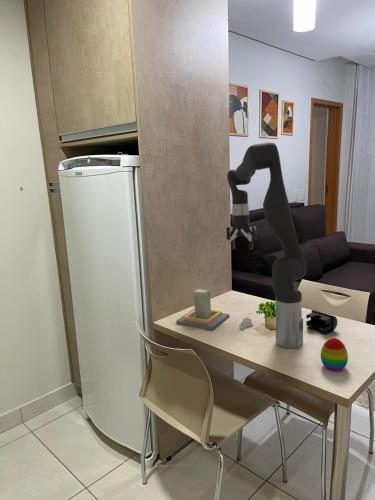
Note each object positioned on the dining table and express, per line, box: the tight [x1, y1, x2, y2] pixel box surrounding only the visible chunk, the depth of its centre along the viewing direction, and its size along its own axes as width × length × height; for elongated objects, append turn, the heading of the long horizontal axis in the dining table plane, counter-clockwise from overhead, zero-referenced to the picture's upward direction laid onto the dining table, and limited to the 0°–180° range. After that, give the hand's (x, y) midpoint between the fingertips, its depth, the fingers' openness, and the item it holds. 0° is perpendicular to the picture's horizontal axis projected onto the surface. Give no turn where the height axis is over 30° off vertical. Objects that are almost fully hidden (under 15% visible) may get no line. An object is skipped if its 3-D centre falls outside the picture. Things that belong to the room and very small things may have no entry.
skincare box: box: [193, 288, 212, 319], centre depth 166 cm, size 6×4×12 cm
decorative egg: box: [320, 337, 349, 372], centre depth 121 cm, size 8×8×10 cm
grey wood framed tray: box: [175, 308, 230, 331], centre depth 167 cm, size 18×16×3 cm
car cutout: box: [233, 317, 254, 330], centre depth 155 cm, size 15×7×4 cm, turn 124°
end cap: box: [305, 309, 338, 336], centre depth 151 cm, size 10×7×7 cm
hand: (242, 249), depth 174 cm, fingers open, 8 cm apart
